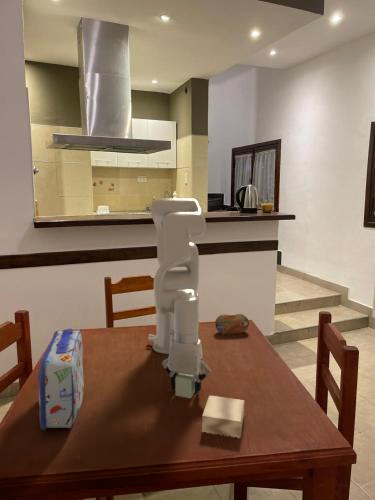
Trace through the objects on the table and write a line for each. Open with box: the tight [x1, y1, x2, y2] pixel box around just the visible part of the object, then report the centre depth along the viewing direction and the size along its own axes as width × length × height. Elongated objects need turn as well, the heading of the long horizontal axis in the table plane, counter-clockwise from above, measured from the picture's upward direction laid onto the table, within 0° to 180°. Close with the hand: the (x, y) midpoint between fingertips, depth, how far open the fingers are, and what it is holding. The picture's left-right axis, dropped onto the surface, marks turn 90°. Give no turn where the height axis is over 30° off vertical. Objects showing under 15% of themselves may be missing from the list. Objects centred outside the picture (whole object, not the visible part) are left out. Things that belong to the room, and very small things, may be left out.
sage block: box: [175, 373, 196, 399], centre depth 116 cm, size 5×5×6 cm
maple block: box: [201, 395, 245, 439], centre depth 101 cm, size 10×10×5 cm
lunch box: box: [37, 328, 85, 431], centre depth 107 cm, size 28×10×22 cm, turn 12°
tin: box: [214, 313, 250, 335], centre depth 166 cm, size 15×3×8 cm, turn 97°
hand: (185, 389), depth 117 cm, fingers open, 6 cm apart
